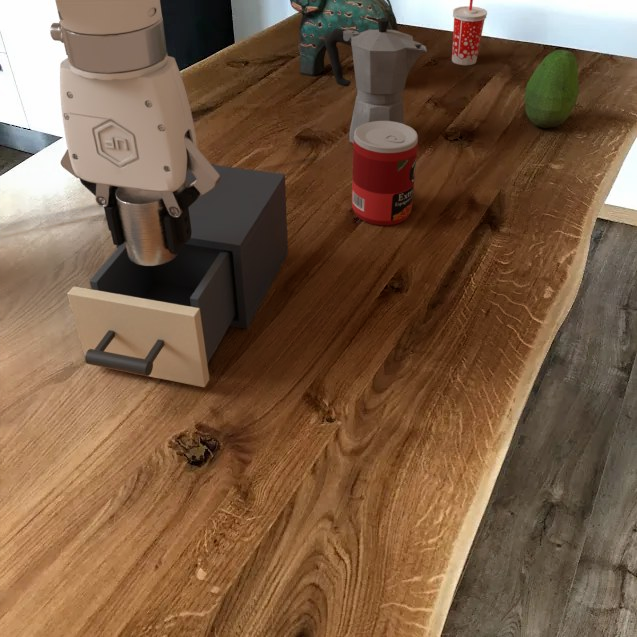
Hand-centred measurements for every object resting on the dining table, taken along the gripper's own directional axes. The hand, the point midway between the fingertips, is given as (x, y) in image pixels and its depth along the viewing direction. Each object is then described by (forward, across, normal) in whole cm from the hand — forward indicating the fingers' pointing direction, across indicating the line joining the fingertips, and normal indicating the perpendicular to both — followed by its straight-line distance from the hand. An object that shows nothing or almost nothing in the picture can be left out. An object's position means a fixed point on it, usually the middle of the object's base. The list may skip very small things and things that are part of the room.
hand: (151, 240), depth 68 cm
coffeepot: (+13, +10, +53) cm, 55 cm away
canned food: (+13, +16, +32) cm, 38 cm away
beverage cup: (+13, +20, +89) cm, 92 cm away
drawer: (+12, 0, -1) cm, 12 cm away
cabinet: (+13, 0, +12) cm, 18 cm away
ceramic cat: (+13, 0, +75) cm, 76 cm away
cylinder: (+1, 0, 0) cm, 1 cm away
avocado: (+13, +36, +64) cm, 75 cm away
